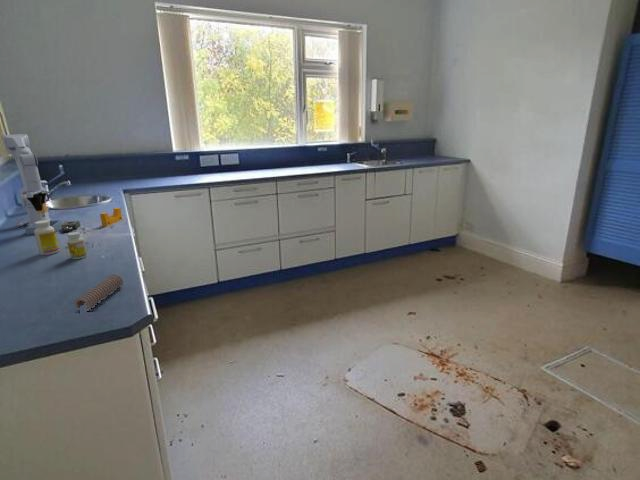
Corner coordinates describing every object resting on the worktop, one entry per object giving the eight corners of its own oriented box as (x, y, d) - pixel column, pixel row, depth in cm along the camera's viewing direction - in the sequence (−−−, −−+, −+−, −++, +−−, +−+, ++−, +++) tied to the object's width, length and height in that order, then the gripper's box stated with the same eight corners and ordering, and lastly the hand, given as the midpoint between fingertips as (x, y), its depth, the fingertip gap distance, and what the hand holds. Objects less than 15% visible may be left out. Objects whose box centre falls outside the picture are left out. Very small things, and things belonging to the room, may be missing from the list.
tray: (36, 227, 187) (35, 221, 186) (63, 225, 190) (61, 219, 189) (26, 234, 177) (24, 228, 176) (54, 232, 179) (53, 226, 178)
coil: (108, 273, 122) (69, 300, 105) (122, 272, 122) (85, 299, 105) (113, 286, 124) (75, 315, 107) (126, 285, 123) (90, 314, 106)
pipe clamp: (115, 219, 200) (112, 207, 198) (122, 220, 199) (120, 207, 197) (99, 226, 188) (96, 213, 186) (107, 226, 188) (104, 213, 186)
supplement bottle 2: (89, 256, 149) (84, 232, 146) (75, 260, 145) (69, 236, 142) (82, 253, 152) (77, 230, 149) (68, 257, 148) (62, 234, 145)
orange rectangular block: (41, 216, 182) (38, 203, 180) (48, 215, 183) (45, 202, 181) (38, 217, 179) (35, 204, 177) (46, 217, 180) (42, 204, 178)
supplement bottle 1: (63, 250, 155) (56, 220, 151) (48, 256, 150) (39, 224, 145) (51, 249, 158) (44, 218, 153) (35, 254, 152) (27, 223, 148)
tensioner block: (66, 226, 188) (65, 221, 187) (80, 225, 189) (79, 220, 188) (58, 233, 178) (57, 227, 177) (73, 232, 179) (72, 226, 179)
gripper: (36, 182, 170) (44, 212, 174) (49, 177, 183) (55, 205, 188) (17, 183, 168) (26, 214, 173) (32, 178, 181) (39, 206, 186)
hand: (40, 209), depth 180 cm, fingers closed on orange rectangular block, 3 cm apart
